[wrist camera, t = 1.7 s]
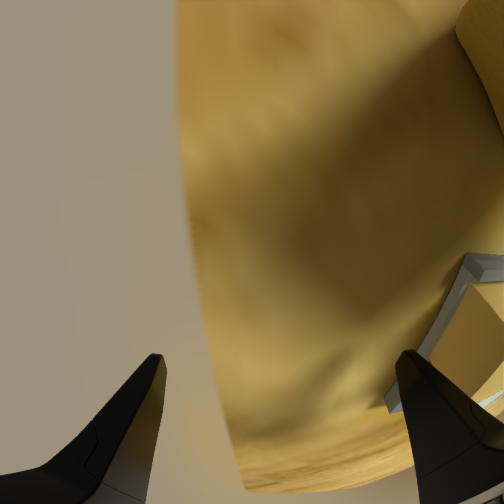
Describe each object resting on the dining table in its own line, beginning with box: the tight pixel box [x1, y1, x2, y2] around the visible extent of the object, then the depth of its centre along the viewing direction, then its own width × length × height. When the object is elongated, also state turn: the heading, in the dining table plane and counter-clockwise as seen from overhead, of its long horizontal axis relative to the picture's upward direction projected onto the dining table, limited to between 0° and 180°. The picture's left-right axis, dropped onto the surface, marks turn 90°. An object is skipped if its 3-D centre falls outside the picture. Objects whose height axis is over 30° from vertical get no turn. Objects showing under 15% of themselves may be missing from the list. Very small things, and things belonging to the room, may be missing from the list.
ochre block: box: [428, 281, 504, 403], centre depth 9 cm, size 7×5×4 cm
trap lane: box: [384, 253, 504, 414], centre depth 12 cm, size 15×11×1 cm
